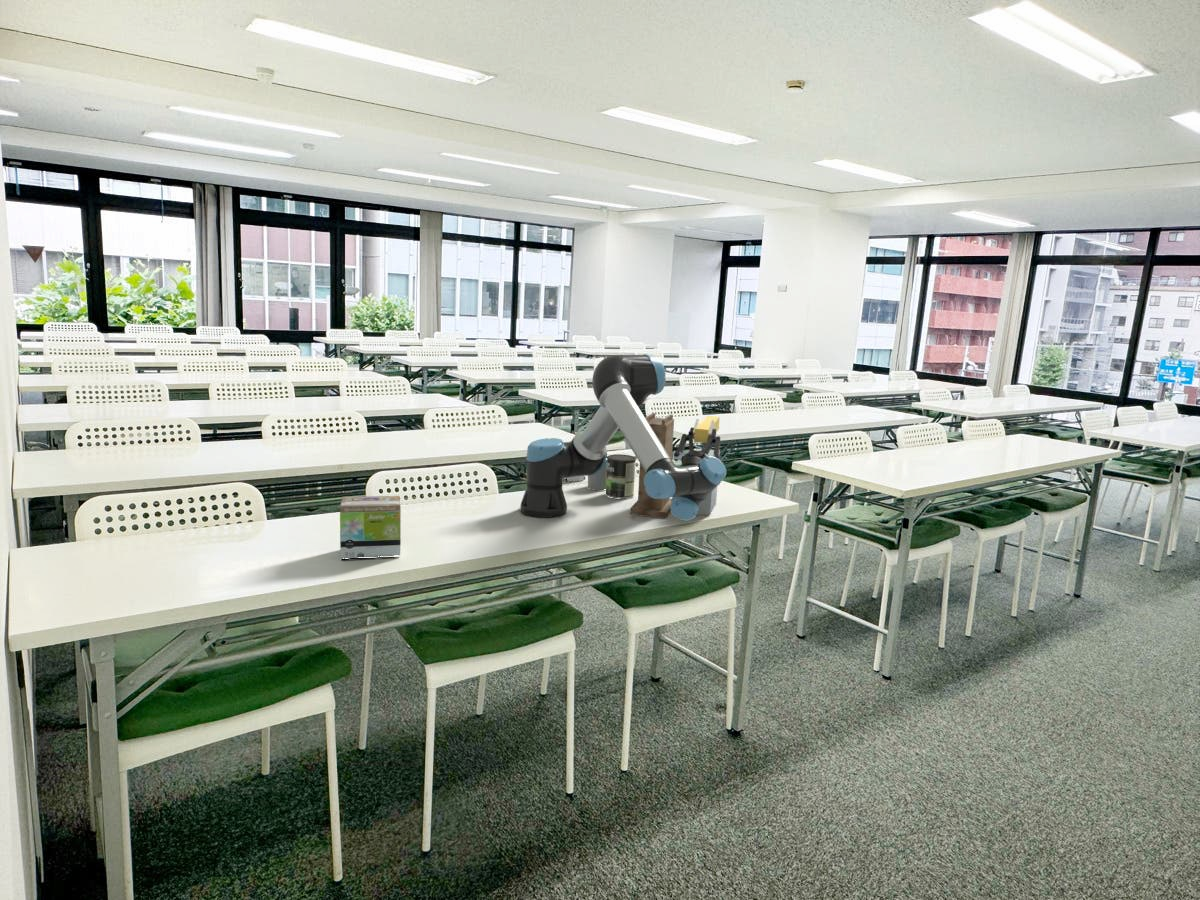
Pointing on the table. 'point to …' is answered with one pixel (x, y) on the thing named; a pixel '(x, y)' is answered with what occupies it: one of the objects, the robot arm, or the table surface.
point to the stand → (645, 502)
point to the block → (705, 429)
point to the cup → (598, 479)
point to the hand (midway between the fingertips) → (705, 423)
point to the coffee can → (620, 476)
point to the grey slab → (710, 500)
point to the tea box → (370, 526)
